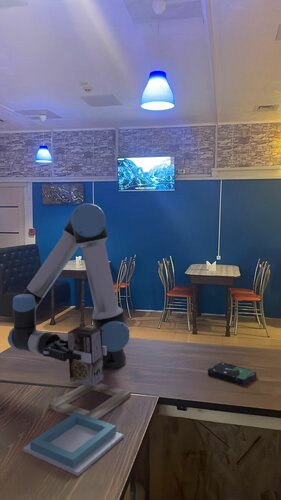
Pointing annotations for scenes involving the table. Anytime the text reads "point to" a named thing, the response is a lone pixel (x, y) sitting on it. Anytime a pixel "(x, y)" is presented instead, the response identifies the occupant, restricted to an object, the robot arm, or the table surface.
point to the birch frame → (98, 412)
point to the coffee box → (88, 343)
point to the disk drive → (232, 373)
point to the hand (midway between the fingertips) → (98, 354)
